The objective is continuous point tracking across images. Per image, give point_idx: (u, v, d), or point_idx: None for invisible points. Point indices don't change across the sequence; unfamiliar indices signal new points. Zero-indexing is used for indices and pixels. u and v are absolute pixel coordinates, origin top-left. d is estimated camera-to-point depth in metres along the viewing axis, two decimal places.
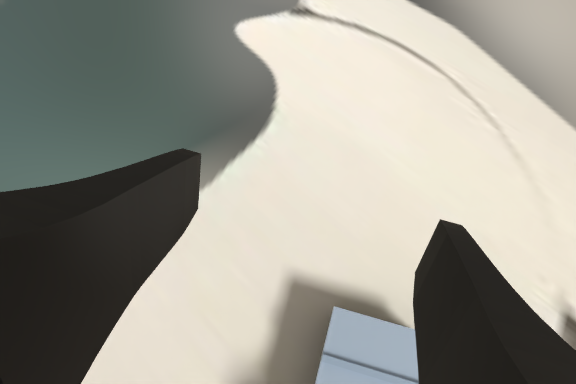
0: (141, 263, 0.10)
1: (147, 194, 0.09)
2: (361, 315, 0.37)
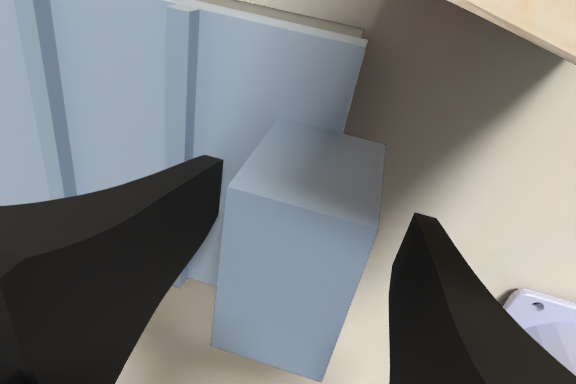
0: (166, 271, 0.10)
1: (175, 203, 0.09)
2: None
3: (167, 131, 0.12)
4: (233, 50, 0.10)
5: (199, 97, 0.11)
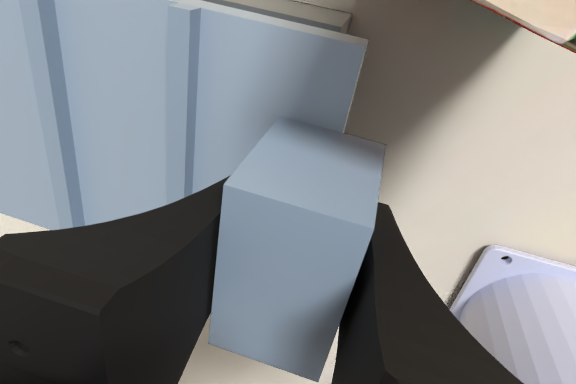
0: None
1: None
2: None
3: (169, 129, 0.12)
4: (234, 49, 0.11)
5: (200, 96, 0.11)
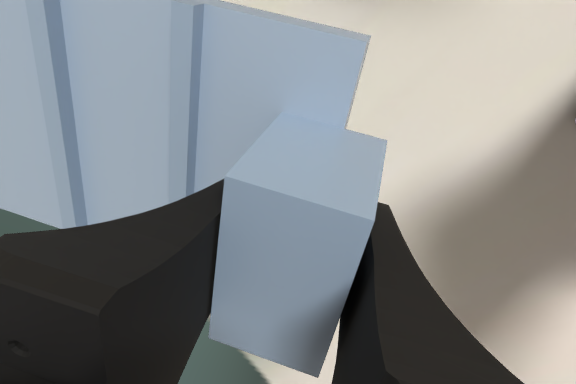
0: None
1: None
2: None
3: (171, 124, 0.12)
4: (236, 44, 0.11)
5: (203, 91, 0.11)
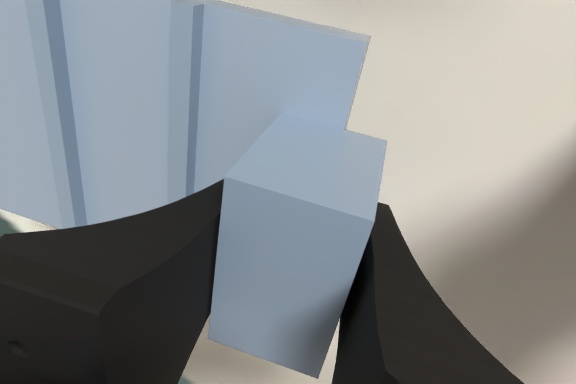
0: None
1: None
2: None
3: (171, 125, 0.12)
4: (236, 45, 0.11)
5: (202, 92, 0.11)
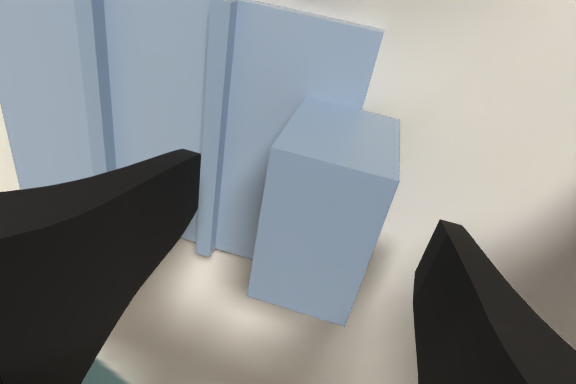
0: (141, 263, 0.10)
1: (147, 194, 0.09)
2: (10, 136, 0.16)
3: (205, 109, 0.13)
4: (265, 36, 0.12)
5: (234, 79, 0.13)
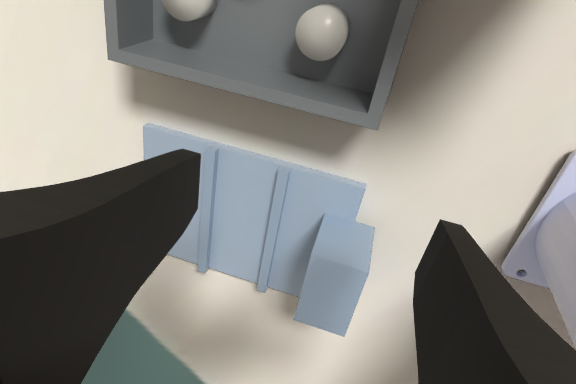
0: (141, 263, 0.10)
1: (147, 194, 0.09)
2: None
3: (270, 217, 0.24)
4: (305, 184, 0.23)
5: (286, 202, 0.24)
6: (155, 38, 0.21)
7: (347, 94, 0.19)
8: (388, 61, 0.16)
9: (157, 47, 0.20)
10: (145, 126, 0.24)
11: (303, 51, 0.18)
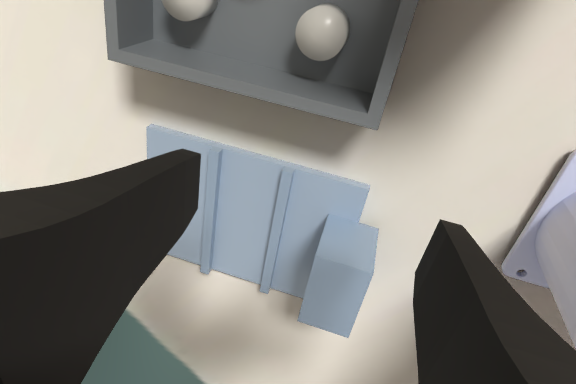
0: (141, 263, 0.10)
1: (147, 194, 0.09)
2: None
3: (273, 218, 0.24)
4: (308, 185, 0.23)
5: (290, 203, 0.24)
6: (155, 38, 0.21)
7: (347, 94, 0.19)
8: (388, 61, 0.16)
9: (157, 47, 0.20)
10: (148, 127, 0.24)
11: (303, 51, 0.18)
